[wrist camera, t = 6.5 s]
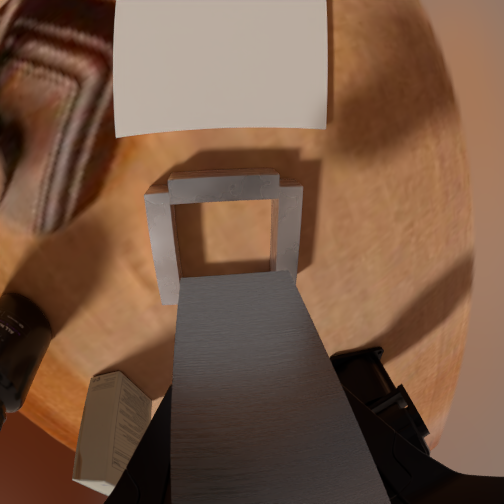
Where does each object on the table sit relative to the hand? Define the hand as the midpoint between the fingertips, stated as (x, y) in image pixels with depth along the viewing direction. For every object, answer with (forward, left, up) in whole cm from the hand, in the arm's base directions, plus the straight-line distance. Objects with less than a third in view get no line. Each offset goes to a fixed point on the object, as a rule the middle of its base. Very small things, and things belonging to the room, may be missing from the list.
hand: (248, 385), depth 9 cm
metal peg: (0, 0, -4) cm, 4 cm away
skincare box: (+12, +18, -13) cm, 25 cm away
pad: (0, -13, -13) cm, 19 cm away
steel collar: (0, +1, -13) cm, 13 cm away
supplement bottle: (+20, +8, -13) cm, 25 cm away
